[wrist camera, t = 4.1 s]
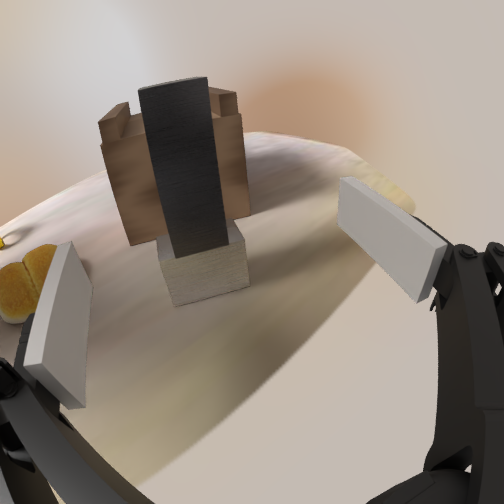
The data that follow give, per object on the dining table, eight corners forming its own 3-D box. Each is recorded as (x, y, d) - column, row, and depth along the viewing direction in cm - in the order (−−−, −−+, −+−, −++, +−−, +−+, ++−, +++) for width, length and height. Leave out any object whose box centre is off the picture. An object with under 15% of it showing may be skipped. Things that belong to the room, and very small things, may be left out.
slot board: (130, 246, 27) (95, 122, 20) (133, 186, 39) (115, 105, 32) (250, 215, 29) (239, 91, 22) (215, 166, 42) (204, 85, 35)
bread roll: (90, 285, 23) (71, 248, 20) (12, 341, 18) (-13, 307, 15) (63, 252, 27) (49, 221, 25) (0, 296, 22) (-18, 265, 20)
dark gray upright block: (174, 309, 20) (116, 96, 12) (169, 278, 22) (122, 92, 14) (250, 287, 21) (227, 74, 13) (237, 260, 24) (213, 74, 15)
